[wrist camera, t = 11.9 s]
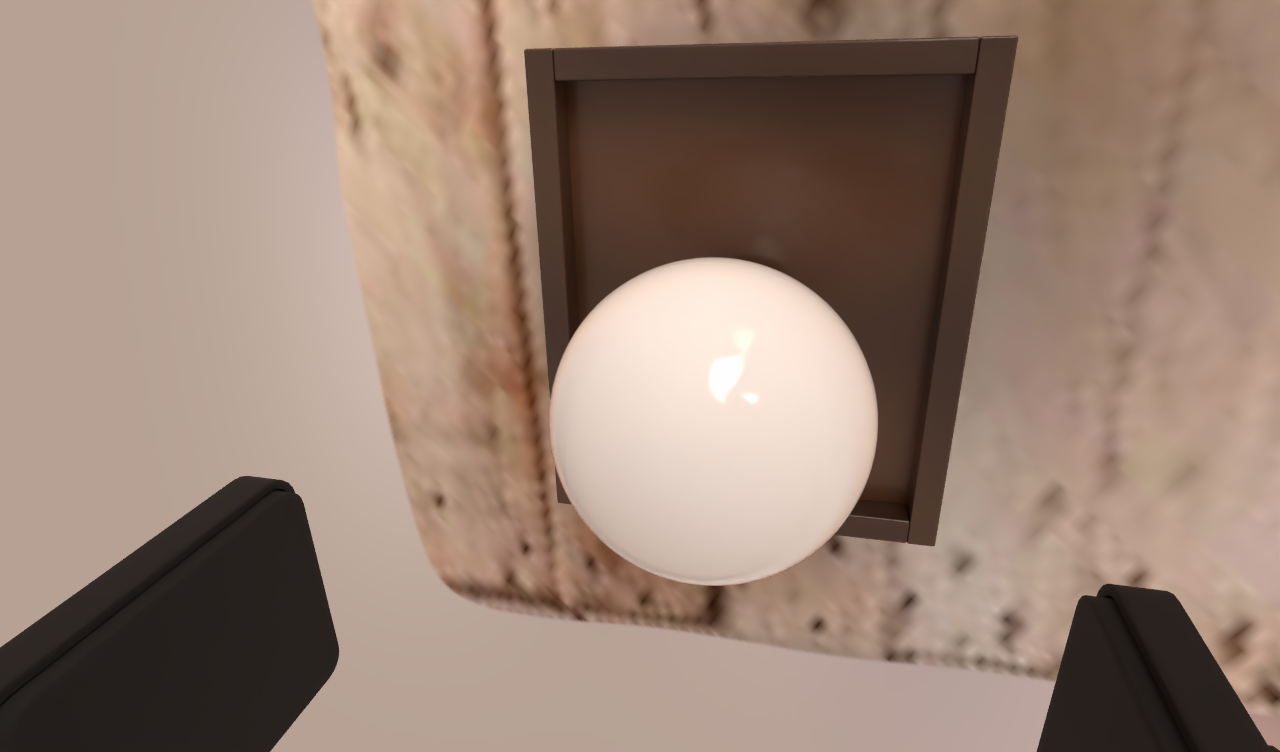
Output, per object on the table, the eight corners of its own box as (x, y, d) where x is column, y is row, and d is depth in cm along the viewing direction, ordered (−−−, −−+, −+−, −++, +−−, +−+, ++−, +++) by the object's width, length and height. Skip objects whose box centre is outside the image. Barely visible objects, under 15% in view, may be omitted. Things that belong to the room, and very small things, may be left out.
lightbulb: (660, 173, 21) (509, 276, 11) (889, 216, 20) (947, 371, 10) (630, 375, 23) (486, 604, 14) (830, 421, 22) (831, 704, 13)
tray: (598, 51, 26) (523, 48, 19) (967, 42, 23) (1019, 35, 17) (612, 414, 31) (557, 503, 25) (911, 439, 28) (934, 547, 22)
